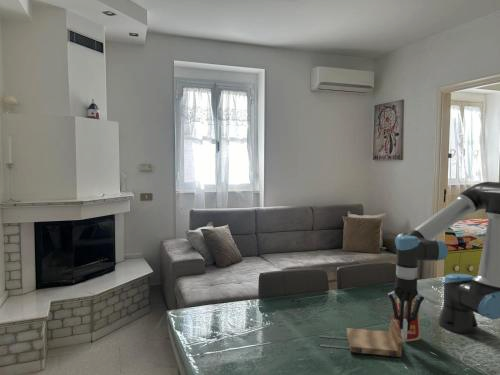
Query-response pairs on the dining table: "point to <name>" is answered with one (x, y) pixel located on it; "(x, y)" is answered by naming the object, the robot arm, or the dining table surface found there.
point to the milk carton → (414, 325)
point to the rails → (335, 346)
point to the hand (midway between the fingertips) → (403, 337)
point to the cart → (374, 341)
